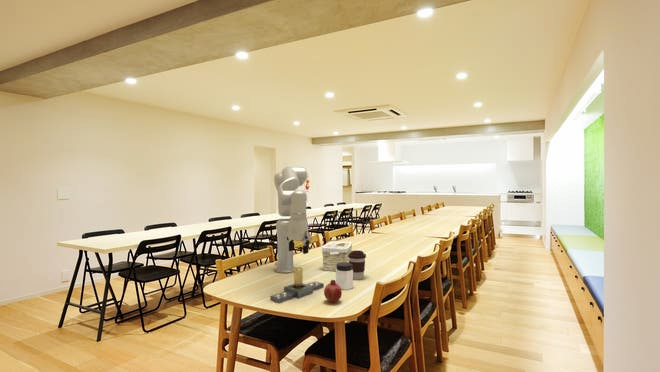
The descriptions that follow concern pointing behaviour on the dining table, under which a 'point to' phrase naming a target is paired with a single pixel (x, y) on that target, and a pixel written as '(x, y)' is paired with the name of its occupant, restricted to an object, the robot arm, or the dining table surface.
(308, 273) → the dining table surface
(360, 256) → the coffee cup
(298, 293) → the grey socket base
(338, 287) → the fruit
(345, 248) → the storage basket
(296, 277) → the pin
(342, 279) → the jar
